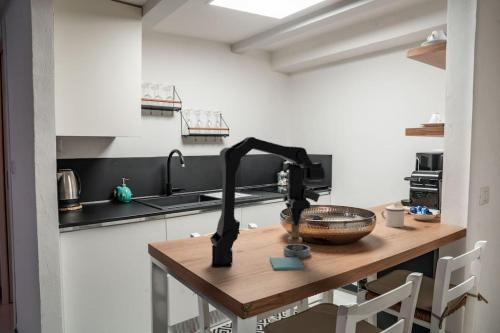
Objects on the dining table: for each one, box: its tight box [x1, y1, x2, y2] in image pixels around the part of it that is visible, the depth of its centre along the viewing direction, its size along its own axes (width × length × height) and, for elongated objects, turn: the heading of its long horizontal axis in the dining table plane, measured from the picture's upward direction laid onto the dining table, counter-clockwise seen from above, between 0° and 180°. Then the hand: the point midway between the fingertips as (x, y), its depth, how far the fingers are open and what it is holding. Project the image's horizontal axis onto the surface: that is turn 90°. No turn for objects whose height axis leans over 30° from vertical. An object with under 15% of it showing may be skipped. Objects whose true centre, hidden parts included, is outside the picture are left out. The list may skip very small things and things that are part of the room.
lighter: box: [310, 213, 324, 221], centre depth 156 cm, size 8×3×10 cm, turn 47°
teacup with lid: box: [380, 202, 406, 228], centre depth 179 cm, size 12×9×12 cm
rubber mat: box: [269, 256, 305, 271], centre depth 121 cm, size 10×10×1 cm
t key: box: [284, 216, 307, 244], centre depth 130 cm, size 7×5×9 cm
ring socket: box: [283, 243, 311, 259], centre depth 132 cm, size 10×10×2 cm
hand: (295, 224), depth 130 cm, fingers closed on t key, 3 cm apart
